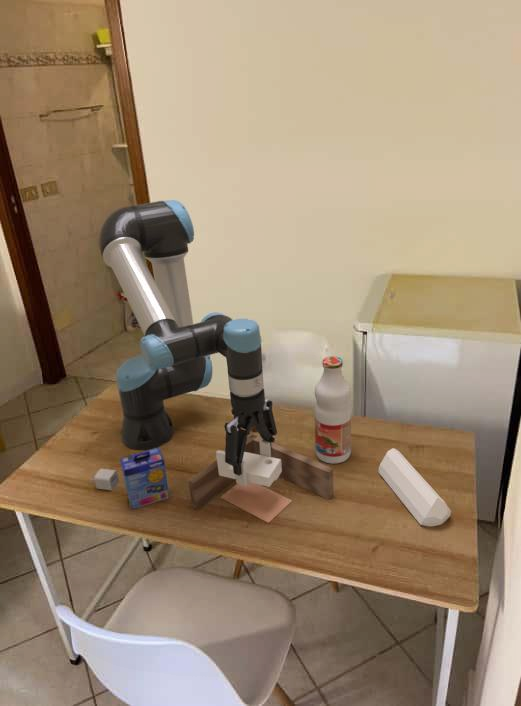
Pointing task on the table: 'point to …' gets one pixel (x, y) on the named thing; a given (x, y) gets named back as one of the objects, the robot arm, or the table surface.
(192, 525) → the table surface
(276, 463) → the bracket
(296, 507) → the table surface
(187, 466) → the table surface
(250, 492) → the pad
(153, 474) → the ink cartridge box
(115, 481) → the usb wall charger
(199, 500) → the corner walls
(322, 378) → the fruit juice
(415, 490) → the crystal
